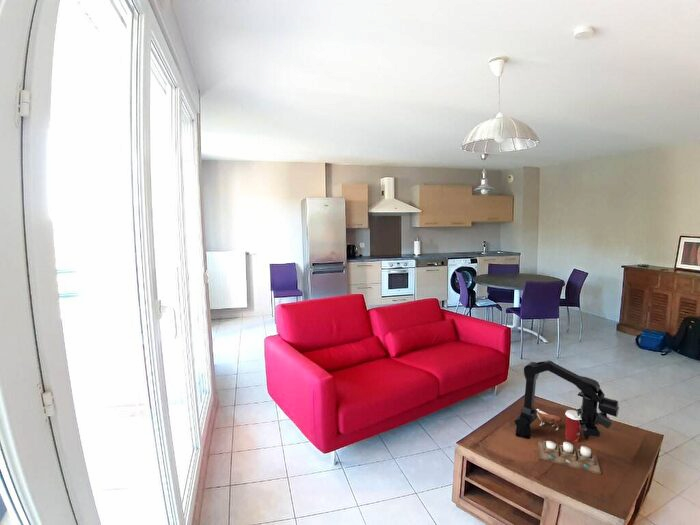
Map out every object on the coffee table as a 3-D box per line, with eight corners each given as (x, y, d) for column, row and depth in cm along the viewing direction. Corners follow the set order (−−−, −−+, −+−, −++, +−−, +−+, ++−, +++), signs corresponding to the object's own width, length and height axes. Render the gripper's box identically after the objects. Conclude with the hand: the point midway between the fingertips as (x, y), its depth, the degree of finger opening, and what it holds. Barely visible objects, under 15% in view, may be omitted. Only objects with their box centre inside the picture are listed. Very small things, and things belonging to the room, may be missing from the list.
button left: (546, 451, 166) (546, 444, 166) (545, 446, 170) (545, 439, 169) (555, 454, 165) (556, 447, 164) (554, 449, 168) (555, 442, 168)
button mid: (563, 452, 163) (563, 445, 163) (562, 447, 167) (562, 441, 166) (573, 455, 161) (573, 448, 161) (571, 450, 165) (572, 443, 165)
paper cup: (583, 444, 173) (586, 418, 172) (566, 442, 175) (569, 416, 173) (576, 435, 181) (579, 410, 179) (560, 433, 182) (562, 408, 181)
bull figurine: (533, 419, 195) (534, 406, 194) (561, 428, 187) (562, 414, 186) (532, 423, 191) (533, 409, 190) (560, 432, 183) (561, 418, 182)
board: (539, 458, 163) (539, 451, 163) (538, 443, 174) (538, 437, 174) (600, 474, 153) (601, 467, 153) (595, 457, 164) (596, 451, 163)
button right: (580, 457, 160) (581, 450, 160) (579, 452, 164) (580, 445, 163) (591, 459, 158) (591, 452, 158) (589, 454, 162) (590, 447, 162)
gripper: (616, 422, 146) (612, 456, 148) (606, 401, 163) (603, 432, 165) (584, 416, 151) (581, 449, 153) (578, 396, 168) (575, 426, 170)
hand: (586, 439), depth 160 cm, fingers closed
